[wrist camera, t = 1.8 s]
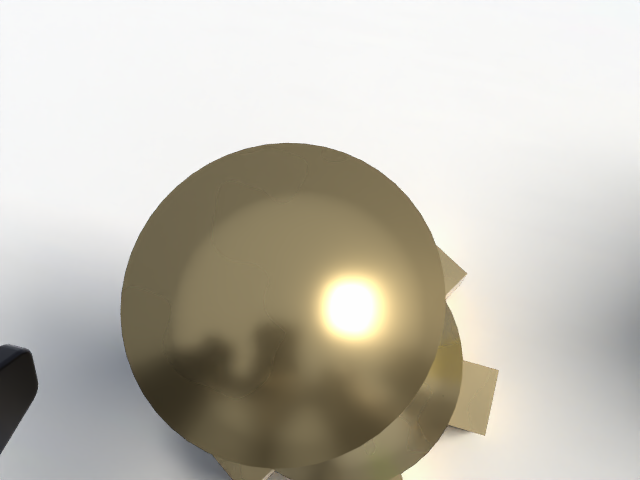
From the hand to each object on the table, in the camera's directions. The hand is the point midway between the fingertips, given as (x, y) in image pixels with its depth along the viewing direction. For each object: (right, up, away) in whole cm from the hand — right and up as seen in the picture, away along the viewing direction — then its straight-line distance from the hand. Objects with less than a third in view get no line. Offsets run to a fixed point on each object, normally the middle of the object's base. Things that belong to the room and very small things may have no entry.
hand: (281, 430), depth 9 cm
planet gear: (+1, -1, +9) cm, 9 cm away
